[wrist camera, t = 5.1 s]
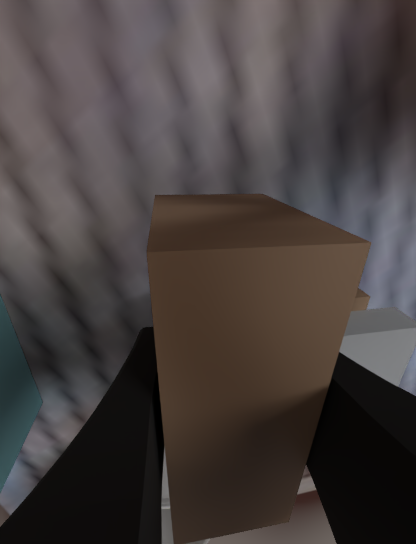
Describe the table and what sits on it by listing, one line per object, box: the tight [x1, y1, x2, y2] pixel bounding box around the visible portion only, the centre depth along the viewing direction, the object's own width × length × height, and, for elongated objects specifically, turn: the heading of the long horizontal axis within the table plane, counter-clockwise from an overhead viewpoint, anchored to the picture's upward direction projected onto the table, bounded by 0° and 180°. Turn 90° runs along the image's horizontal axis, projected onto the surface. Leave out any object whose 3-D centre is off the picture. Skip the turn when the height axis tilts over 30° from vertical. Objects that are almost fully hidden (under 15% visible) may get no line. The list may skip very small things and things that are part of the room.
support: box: [147, 194, 371, 544], centre depth 8 cm, size 4×9×5 cm, turn 179°
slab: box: [339, 307, 416, 387], centre depth 16 cm, size 14×8×2 cm, turn 91°
